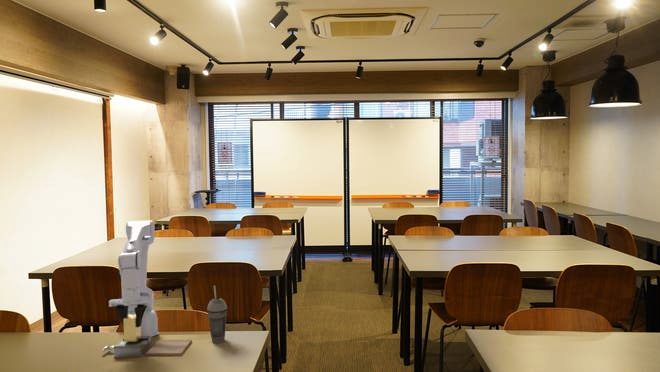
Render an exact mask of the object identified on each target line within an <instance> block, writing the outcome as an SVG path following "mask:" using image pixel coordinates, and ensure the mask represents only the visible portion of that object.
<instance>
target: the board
mask: <svg viewBox="0 0 660 372" xmlns="http://www.w3.org/2000/svg"><path fill="white" fill-rule="evenodd" d="M192 341H193V339H160V340H159V339H158V340H157V341H156V342H155V343H153V345H151V347H150V348H149V349H148V350H147V351H146V352H145V353H144V354H145V356H146V357H162V356H163V357H165V356H166V357H167V356H168V357H169V356H170V357H172V356H174V357H175V356H182V355H183V354H184V352H185V351H186V350H187V349H188V348H189V346H190V345H191V343H192Z"/></svg>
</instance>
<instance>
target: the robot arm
mask: <svg viewBox="0 0 660 372" xmlns="http://www.w3.org/2000/svg"><path fill="white" fill-rule="evenodd" d="M155 227H156V226H155V221H154V220H152V219H150V220H133V221H130V220H128V221H127V222H126V224H125V233H126V237H127V241H126V243H125V244H124V248H123V251H122V253H121V254H119V255H118V258H117V265H118V269H119V275H120V281H121V282H120V285H121V298H118V299H116V298H115V299H110V300H108V308H109V307H116V308H115V309H114V310H115V312H116V313H117V316H118V317H119V319H120V321H121V324H122V327H123V328H124V320H123V318H125V317H126V316H127V315H136V325H137V327H141V336H151V338H152V337H155V336H158V335H160V332H159V323H158V322H159V321H158V315H157V312H156V310H154V308H155V307H154V306H155V298H154V291H153V290H152V289H151V288H149V287H148V286H147V276H148V275H147V273H148V258H149V257H148V253H149V247H150V245H152V244H153V243H154V240H155V231H156V229H155Z"/></svg>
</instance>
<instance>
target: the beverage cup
mask: <svg viewBox="0 0 660 372" xmlns="http://www.w3.org/2000/svg"><path fill="white" fill-rule="evenodd" d="M213 292H214V298H213V299H211V300H210V301H209V303H207V304H208V305H207V307H206V308H207V309H206V312H207V317H208V322H209V331H210V338H211V343H215V344H220V343H223V342H225V338H226V326H227V325H226V324H227V314H228V313H227V312H228V307H227V303H226V300H224V299H223V298H220V297H217V289H216V285H213Z"/></svg>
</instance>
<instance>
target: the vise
mask: <svg viewBox="0 0 660 372" xmlns="http://www.w3.org/2000/svg"><path fill="white" fill-rule="evenodd" d="M151 347H152V337H151V336H141V337H140V338H139V339H138V340H137V341H136V342H124V337H123V338H122V341H121V342H120V343H115V345H111V344H107V345H105V347H103V348H102V349H101V352H102V353H104V352H106V351H109V350H111V351H113V357H114V358H142V357H143V356H144V354H146V353H147V352H148V351H149V350H150V348H151Z"/></svg>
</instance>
